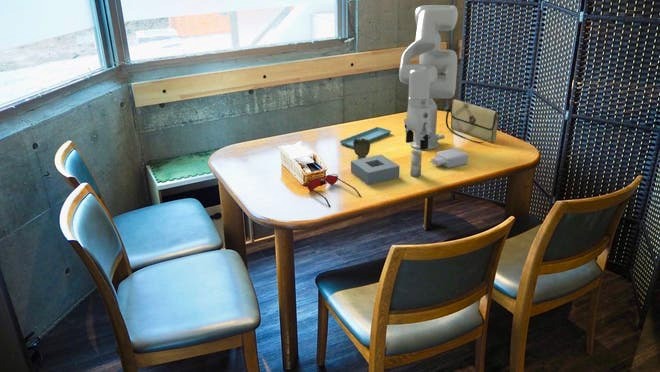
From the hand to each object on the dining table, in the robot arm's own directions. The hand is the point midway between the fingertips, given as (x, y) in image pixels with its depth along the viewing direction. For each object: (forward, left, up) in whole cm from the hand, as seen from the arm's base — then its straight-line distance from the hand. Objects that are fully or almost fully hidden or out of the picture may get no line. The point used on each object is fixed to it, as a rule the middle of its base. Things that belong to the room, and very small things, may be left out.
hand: (416, 145), depth 211 cm
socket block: (+14, -9, -13) cm, 20 cm away
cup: (+10, -27, -13) cm, 31 cm away
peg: (0, -1, -13) cm, 13 cm away
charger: (-18, -4, -13) cm, 22 cm away
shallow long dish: (-3, -47, -13) cm, 49 cm away
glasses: (+36, -1, -13) cm, 38 cm away
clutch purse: (-47, -25, -13) cm, 55 cm away
